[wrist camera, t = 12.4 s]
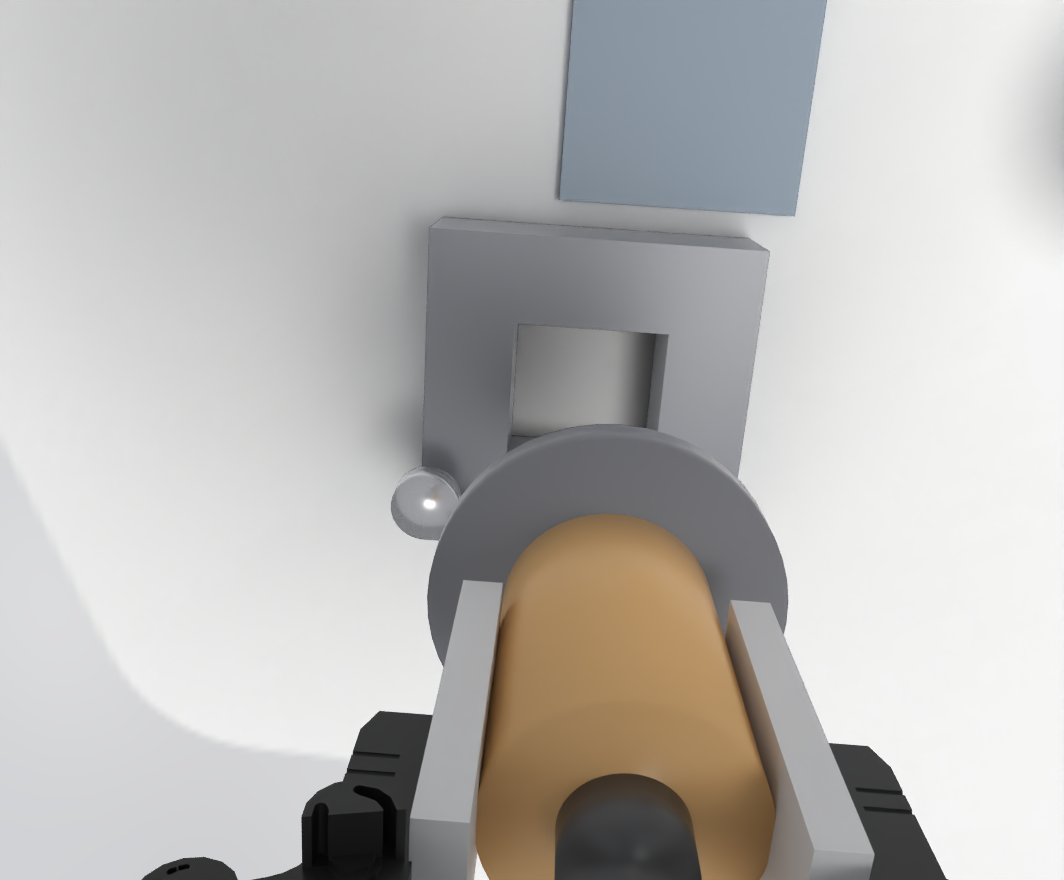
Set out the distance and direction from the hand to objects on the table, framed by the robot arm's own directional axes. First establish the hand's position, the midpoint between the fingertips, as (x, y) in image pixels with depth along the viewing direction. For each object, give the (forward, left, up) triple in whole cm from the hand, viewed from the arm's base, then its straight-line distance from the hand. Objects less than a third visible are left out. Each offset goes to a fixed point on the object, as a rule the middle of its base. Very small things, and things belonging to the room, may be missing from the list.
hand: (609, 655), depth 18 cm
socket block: (0, 0, -22) cm, 22 cm away
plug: (0, 0, -7) cm, 7 cm away
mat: (-11, +3, -22) cm, 25 cm away
